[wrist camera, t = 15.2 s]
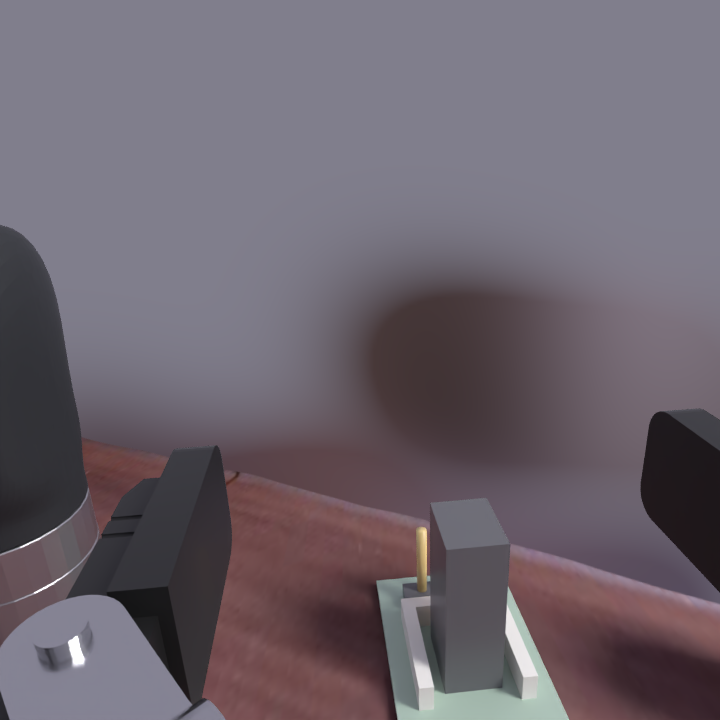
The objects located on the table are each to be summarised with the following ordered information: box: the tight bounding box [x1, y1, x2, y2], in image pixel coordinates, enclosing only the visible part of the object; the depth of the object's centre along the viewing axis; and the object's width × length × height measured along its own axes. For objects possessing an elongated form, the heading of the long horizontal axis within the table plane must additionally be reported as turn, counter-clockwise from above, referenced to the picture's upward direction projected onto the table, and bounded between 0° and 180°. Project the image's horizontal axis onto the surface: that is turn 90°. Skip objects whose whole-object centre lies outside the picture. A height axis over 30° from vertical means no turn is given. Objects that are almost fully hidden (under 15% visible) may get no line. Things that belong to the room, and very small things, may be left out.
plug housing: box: [430, 498, 510, 694], centre depth 39 cm, size 5×4×12 cm
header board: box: [377, 527, 569, 720], centre depth 41 cm, size 15×11×8 cm
